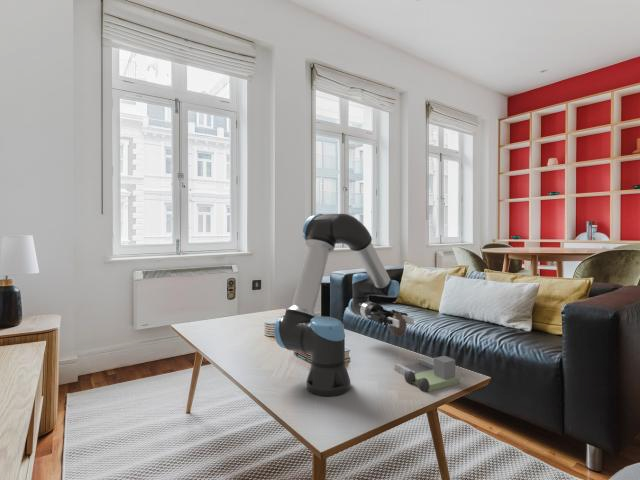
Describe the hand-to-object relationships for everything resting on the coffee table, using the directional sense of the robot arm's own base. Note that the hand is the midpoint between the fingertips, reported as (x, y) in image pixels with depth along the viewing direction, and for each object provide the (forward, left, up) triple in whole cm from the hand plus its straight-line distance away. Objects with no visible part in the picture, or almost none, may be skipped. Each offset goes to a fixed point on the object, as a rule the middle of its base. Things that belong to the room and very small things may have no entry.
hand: (406, 322), depth 150 cm
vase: (-4, +3, -6) cm, 8 cm away
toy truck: (+10, -13, -17) cm, 24 cm away
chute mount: (+4, -4, -17) cm, 18 cm away
